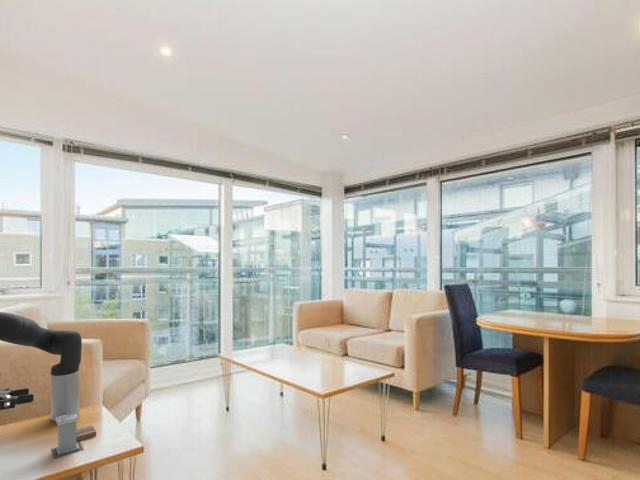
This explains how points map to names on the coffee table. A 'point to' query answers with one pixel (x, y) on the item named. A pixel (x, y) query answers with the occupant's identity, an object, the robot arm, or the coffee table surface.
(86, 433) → the plinth
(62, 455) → the mat
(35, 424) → the coffee table surface
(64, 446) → the housing
